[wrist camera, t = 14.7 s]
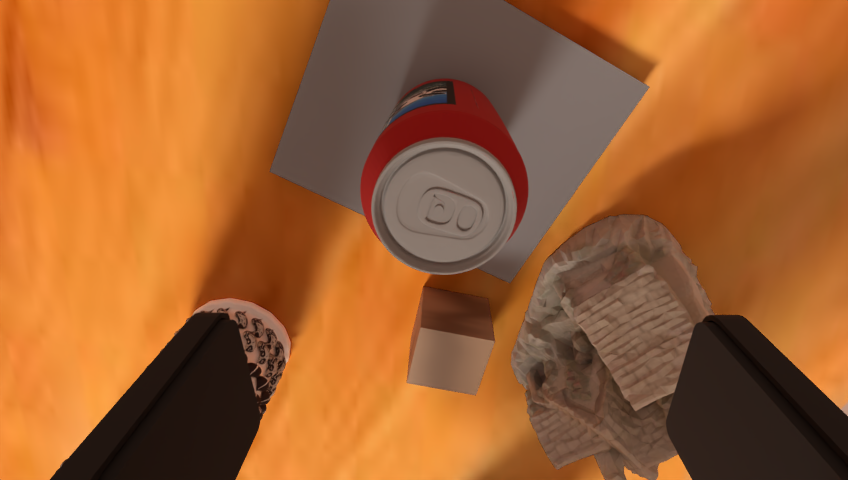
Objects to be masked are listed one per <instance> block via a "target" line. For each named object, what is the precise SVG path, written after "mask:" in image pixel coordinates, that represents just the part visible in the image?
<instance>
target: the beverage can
mask: <svg viewBox="0 0 848 480" xmlns="http://www.w3.org/2000/svg"><path fill="white" fill-rule="evenodd" d="M528 189H529V187H528V177H527V172H526V168H525V165H524V162H523V159H522V157H521V155H520V153H519V151H518V149H517V147H516V145H515V143H514V141H513V139H512V138H511V136H510V134H509V132H508V130H507V128H506V127H505V125H504V123H503V121H502V120H501V118H500V116H499V115H498V113H497V111H496V110H495V108H494V107H493V105H492V104H491V102H490V101H489V100H488V98H487V97H486V96H485V95H484V94H483V93H482V92H481V91H479V90H478V89H477V88H475V87H474V86H472V85H470V84H468V83H465V82H463V81H460V80H455V79H444V78H443V79H434V80H430V81H427V82H424V83H421V84H419V85H417V86H416V87H414V88H412V89H411V90H410V91H408V92H407V93H406V94H405V95H404V96H403V97H402V98H401V99H400V101H399V102H398V103H397V105H396V106H395V108H394V110H393V111H392V113H391V114H390V116H389V118H388V120H387V121H386V123H385V125H384V127H383V128H382V130H381V132H380V134H379V136H378V138H377V140H376V141H375V143H374V145H373V147H372V149H371V151H370V153H369V155H368V158H367V160H366V162H365V165H364V168H363V172H362V176H361V184H360V195H361V203H362V207H363V211H364V214H365V217H366V219H367V222H368V224H369V225H370V227H371V229H372V231H373V232H374V234H375V235H376V236H377V238H378V239H379V240H380V241H381V242H382V243H383V245H384V246H385V247H386V249H387V250H388V251H389V252H390V253H391V254H392V255H393V256H394V257H395V258H397V259H398V260H399V261H401V262H402V263H404V264H405V265H407V266H409V267H411V268H414V269H416V270H419V271H422V272H426V273H430V274H439V275H450V274H458V273H462V272H466V271H469V270H472V269H474V268H477V267H479V266H481V265H482V264H484V263H486V262H487V261H489V260H490V259H491V258H493V257H494V256H495V255H496V254H497V253H498V252H499V251H500V250H501V249H502V247H503V246H504V245H505V244H506V243H507V242H508V240H509V239H510V238H511V237H512V236H513V234H514V233H515V231H516V230H517V228H518V226H519V224H520V222H521V220H522V218H523V216H524V213H525V210H526V206H527V201H528Z"/></svg>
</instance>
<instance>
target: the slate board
mask: <svg viewBox="0 0 848 480" xmlns="http://www.w3.org/2000/svg"><path fill="white" fill-rule="evenodd" d="M443 78H444V79H455V80H460V81H463V82H465V83H468V84H470V85H472V86H474V87H475V88H477V89H478V90H479V91H481V92H482V93H483V94H484V95H485V96H486V97H487V98H488V100H489V101H490V102H491V104H492V105H493V107H494V108H495V110H496V111H497V113H498V115H499V116H500V118H501V120H502V121H503V123H504V125H505V127H506V128H507V130H508V132H509V134H510V136H511V138H512V139H513V141H514V143H515V145H516V147H517V149H518V151H519V153H520V155H521V157H522V159H523V162H524V165H525V168H526V172H527V177H528V187H529V189H528V201H527V206H526V210H525V213H524V216H523V218H522V220H521V222H520V224H519V226H518V228H517V230H516V231H515V233H514V234H513V236H512V237H511V238H510V239H509V240H508V242H507V243H506V244H505V245H504V246H503V247H502V249H501V250H500V251H499V252H498V253H497V254H496V255H495V256H494V257H493V258H491V259H490V260H489V261H487V262H486V263H484V264H482V265H481V266H479V267H477V268H478V269H480V270H482V271H484V272H487V273H489V274H491V275H493V276H495V277H497V278H500V279H502V280H504V281H506V282H508V283H511V281H512V280H513V278H514V277H515V276H516V274H517V273H518V271H519V270H520V269H521V267H522V266H523V264H524V263H525V261H526V260H527V259H528V257H529V256H530V254H531V253H532V252H533V250H534V249H535V247H536V246H537V245H538V243H539V242H540V240H541V239H542V238H543V236H544V235H545V233H546V232H547V231H548V229H549V228H550V226H551V225H552V223H553V222H554V221H555V219H556V218H557V216H558V215H559V214H560V212H561V211H562V209H563V208H564V207H565V205H566V204H567V202H568V201H569V200H570V198H571V197H572V195H573V194H574V193H575V191H576V190H577V188H578V187H579V185H580V184H581V183H582V181H583V180H584V178H585V177H586V176H587V174H588V173H589V171H590V170H591V169H592V167H593V166H594V164H595V163H596V162H597V160H598V159H599V157H600V156H601V155H602V153H603V152H604V150H605V149H606V148H607V146H608V145H609V143H610V142H611V140H612V139H613V138H614V136H615V135H616V133H617V132H618V131H619V129H620V128H621V126H622V125H623V124H624V122H625V121H626V119H627V118H628V117H629V115H630V114H631V112H632V111H633V110H634V108H635V107H636V105H637V104H638V102H639V101H640V100H641V98H642V97H643V95H644V94H645V93H646V91H647V90H648V88H649V86H647V85H646V84H644V83H642V82H640V81H639V80H637V79H635V78H634V77H632V76H630V75H629V74H627V73H625V72H624V71H622V70H620V69H619V68H617V67H615V66H613V65H612V64H610V63H608V62H607V61H605V60H603V59H602V58H600V57H598V56H597V55H595V54H593V53H592V52H590V51H588V50H587V49H585V48H583V47H581V46H580V45H578V44H576V43H575V42H573V41H571V40H570V39H568V38H566V37H565V36H563V35H561V34H560V33H558V32H556V31H554V30H553V29H551V28H549V27H548V26H546V25H544V24H543V23H541V22H539V21H538V20H536V19H534V18H533V17H531V16H529V15H527V14H526V13H524V12H522V11H521V10H519V9H517V8H516V7H514V6H512V5H511V4H509V3H507V2H506V1H504V0H330V2H329V5H328V8H327V10H326V13H325V16H324V19H323V22H322V25H321V27H320V30H319V33H318V36H317V39H316V41H315V44H314V47H313V50H312V53H311V56H310V58H309V61H308V64H307V67H306V70H305V73H304V75H303V78H302V81H301V84H300V87H299V90H298V92H297V95H296V98H295V101H294V104H293V107H292V109H291V112H290V115H289V118H288V121H287V124H286V126H285V129H284V132H283V135H282V138H281V140H280V143H279V146H278V149H277V152H276V155H275V157H274V160H273V163H272V166H271V169H270V172H271V173H274V174H276V175H278V176H280V177H282V178H284V179H286V180H289V181H291V182H293V183H295V184H297V185H299V186H302V187H304V188H306V189H308V190H310V191H312V192H314V193H317V194H319V195H321V196H323V197H325V198H327V199H330V200H332V201H334V202H336V203H338V204H340V205H342V206H345V207H347V208H349V209H351V210H353V211H355V212H358V213H360V214H362V215H364V216H365V214H364V211H363V207H362V203H361V195H360V184H361V176H362V172H363V168H364V165H365V162H366V160H367V158H368V155H369V153H370V151H371V149H372V147H373V145H374V143H375V141H376V140H377V138H378V136H379V134H380V132H381V130H382V128H383V127H384V125H385V123H386V121H387V120H388V118H389V116H390V114H391V113H392V111H393V110H394V108H395V106H396V105H397V103H398V102H399V101H400V99H401V98H402V97H403V96H404V95H405V94H406V93H407V92H408V91H410V90H411V89H412V88H414V87H416V86H417V85H419V84H421V83H424V82H427V81H430V80H434V79H443Z"/></svg>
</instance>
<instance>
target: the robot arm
mask: <svg viewBox="0 0 848 480" xmlns="http://www.w3.org/2000/svg"><path fill="white" fill-rule="evenodd" d="M259 424H260V411H259V407H258V403H257V399H256V395H255V391H254V387H253V383H252V379H251V375H250V371H249V367H248V363H247V359H246V355H245V351H244V347H243V343H242V339H241V335H240V331H239V327H238V324H237V322H236V321H235V320H230V318H229V316H228V315H227V314H226V313H208V312H199V313H195V314H194V315H193V316H191V318H190V319H189V320H188V321H187V322H186V323H185V325H184V326H183V327H182V328H181V329H180V330H179V331H178V333H177V334H176V335H175V336H174V337H173V338H172V340H171V341H170V342H169V343H168V344H167V345H166V346H165V348H164V349H163V350H162V351H161V352H160V353H159V355H158V356H157V357H156V358H155V359H154V360H153V361H152V363H151V364H150V365H149V366H148V367H147V368H146V369H145V371H144V372H143V373H142V374H141V375H140V376H139V378H138V379H137V380H136V381H135V382H134V383H133V384H132V386H131V387H130V388H129V389H128V390H127V391H126V393H125V394H124V395H123V396H122V397H121V398H120V399H119V401H118V402H117V403H116V404H115V405H114V406H113V408H112V409H111V410H110V411H109V412H108V413H107V414H106V416H105V417H104V418H103V419H102V420H101V421H100V422H99V424H98V425H97V426H96V427H95V428H94V429H93V431H92V432H91V433H90V434H89V435H88V436H87V437H86V439H85V440H84V441H83V442H82V443H81V444H80V446H79V447H78V448H77V449H76V450H75V451H74V452H73V454H72V455H71V456H70V457H69V458H68V459H67V461H66V462H65V463H64V464H63V465H62V466H61V467H60V469H59V470H58V471H57V472H56V473H55V474H54V475H53V477H52V478H51V479H50V480H235V479H236V477H237V475H238V473H239V471H240V468H241V466H242V464H243V462H244V460H245V458H246V455H247V453H248V451H249V449H250V447H251V444H252V442H253V440H254V438H255V436H256V434H257V431H258V428H259ZM666 428H667V433H668V436H669V438H670V440H671V442H672V444H673V445H674V447H675V449H676V451H677V453H678V454H679V456H680V458H681V460H682V462H683V464H684V465H685V467H686V469H687V471H688V473H689V474H690V476H691V478H692V480H848V416H847V415H846V414H845V413H843V411H842V410H841V409H840V408H839V407H837V406H836V405H835V404H834V403H833V402H832V401H831V400H830V399H829V398H828V397H827V396H826V395H825V394H824V393H823V392H822V391H821V390H820V389H819V388H818V387H817V386H816V385H815V384H814V383H813V382H812V381H810V380H809V379H808V378H807V377H806V376H805V375H804V374H803V373H802V372H801V371H800V370H799V369H798V368H797V367H796V366H795V365H794V364H793V363H792V362H791V361H790V360H789V359H788V358H787V357H786V356H784V355H783V354H782V353H781V352H780V351H779V350H778V349H777V348H776V347H775V346H774V345H773V344H772V343H771V342H770V341H769V340H768V339H767V338H766V337H765V336H764V335H763V334H762V333H761V332H760V331H759V330H757V329H756V328H755V327H754V326H753V325H752V324H751V323H750V322H749V321H748V320H747V319H746V318H744V317H743V316H740V315H708V316H706V317H705V318H704V319H703V321H702V322H699V323H697V324H696V325H695V327H694V329H693V332H692V335H691V339H690V342H689V345H688V349H687V352H686V355H685V359H684V362H683V365H682V369H681V372H680V375H679V379H678V382H677V385H676V388H675V392H674V395H673V398H672V402H671V405H670V408H669V412H668V415H667V419H666Z"/></svg>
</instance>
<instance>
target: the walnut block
mask: <svg viewBox="0 0 848 480" xmlns="http://www.w3.org/2000/svg"><path fill="white" fill-rule="evenodd" d="M494 343H495V338H494V332H493V325H492V319H491V313H490V307H489V300H488V298H483V297H478V296H472V295H467V294H462V293H457V292H451V291H446V290H441V289H436V288H431V287H425V286H423V291H422V295H421V299H420V303H419V307H418V311H417V315H416V320H415V324H414V328H413V332H412V336H411V345H410V355H409V365H408V375H407V383H410V384H415V385H421V386H426V387H432V388H437V389H443V390H449V391H454V392H460V393H465V394H471V395H476V394H477V391H478V388H479V385H480V382H481V380H482V377H483V374H484V371H485V368H486V365H487V363H488V360H489V357H490V354H491V351H492V349H493V346H494Z"/></svg>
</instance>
